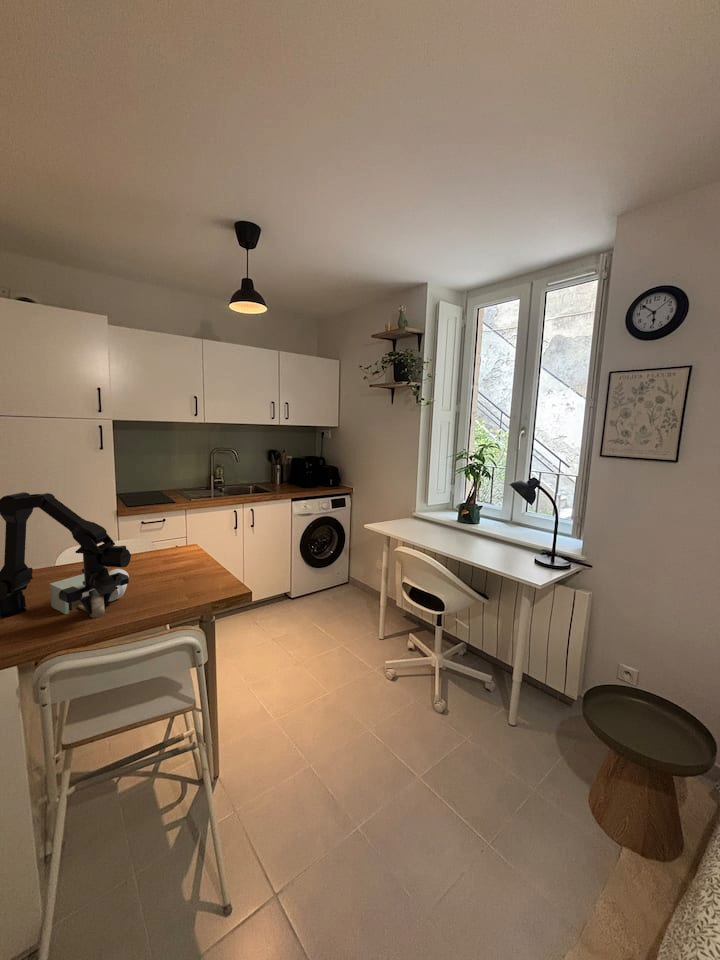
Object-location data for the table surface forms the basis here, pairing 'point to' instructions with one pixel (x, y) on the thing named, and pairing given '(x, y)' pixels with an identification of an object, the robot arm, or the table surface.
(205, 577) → the table surface
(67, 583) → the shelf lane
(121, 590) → the pill bottle
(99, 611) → the beige dumbbell
